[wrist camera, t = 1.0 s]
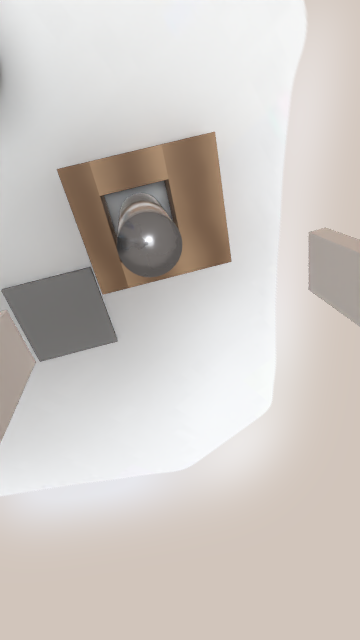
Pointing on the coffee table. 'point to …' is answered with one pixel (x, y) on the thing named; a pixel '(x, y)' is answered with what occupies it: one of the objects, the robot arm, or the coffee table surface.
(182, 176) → the housing
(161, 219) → the shiny metal cylinder
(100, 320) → the mat
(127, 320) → the coffee table surface
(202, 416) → the coffee table surface
